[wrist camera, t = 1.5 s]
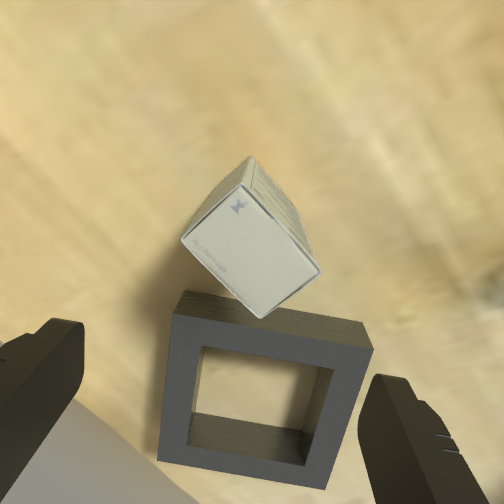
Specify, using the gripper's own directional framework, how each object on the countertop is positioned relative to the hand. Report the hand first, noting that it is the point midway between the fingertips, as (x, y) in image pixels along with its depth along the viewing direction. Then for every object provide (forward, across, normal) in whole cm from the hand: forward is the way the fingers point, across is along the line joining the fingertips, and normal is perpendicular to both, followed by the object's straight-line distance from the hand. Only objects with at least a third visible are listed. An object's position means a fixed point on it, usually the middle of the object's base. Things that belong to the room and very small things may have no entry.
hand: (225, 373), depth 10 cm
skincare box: (+21, 0, 0) cm, 21 cm away
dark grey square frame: (+20, -3, +17) cm, 27 cm away
